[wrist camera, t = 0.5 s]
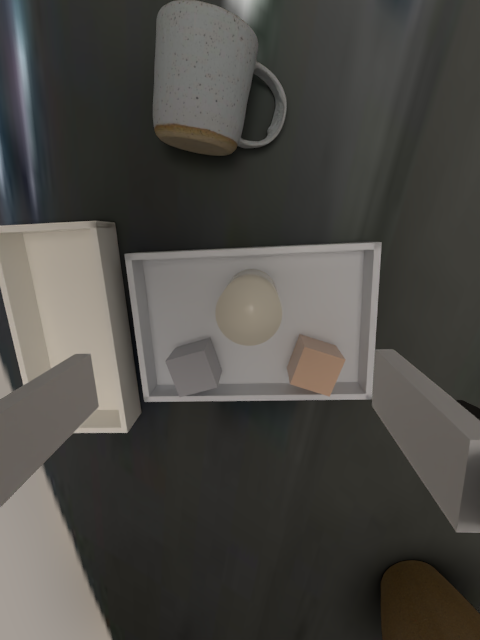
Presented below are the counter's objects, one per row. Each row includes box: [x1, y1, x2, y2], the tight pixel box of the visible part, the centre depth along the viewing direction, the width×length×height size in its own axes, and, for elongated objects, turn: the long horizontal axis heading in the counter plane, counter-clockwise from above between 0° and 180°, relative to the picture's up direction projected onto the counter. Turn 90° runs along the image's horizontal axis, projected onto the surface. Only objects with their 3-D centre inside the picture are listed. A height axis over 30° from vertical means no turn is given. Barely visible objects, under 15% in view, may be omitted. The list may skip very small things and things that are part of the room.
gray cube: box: [165, 337, 222, 397], centre depth 33 cm, size 4×4×4 cm
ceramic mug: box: [153, 0, 287, 156], centre depth 25 cm, size 11×8×8 cm
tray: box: [124, 242, 382, 402], centre depth 32 cm, size 15×23×3 cm, turn 93°
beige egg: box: [215, 269, 282, 346], centre depth 28 cm, size 5×5×9 cm
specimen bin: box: [0, 221, 141, 433], centre depth 33 cm, size 21×10×4 cm, turn 3°
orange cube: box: [287, 334, 346, 397], centre depth 32 cm, size 4×4×4 cm
